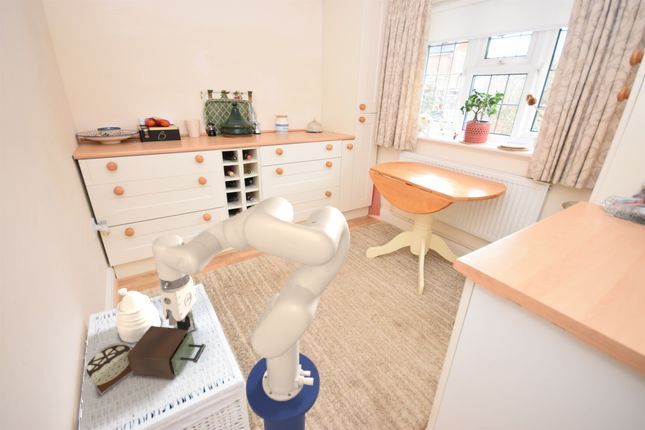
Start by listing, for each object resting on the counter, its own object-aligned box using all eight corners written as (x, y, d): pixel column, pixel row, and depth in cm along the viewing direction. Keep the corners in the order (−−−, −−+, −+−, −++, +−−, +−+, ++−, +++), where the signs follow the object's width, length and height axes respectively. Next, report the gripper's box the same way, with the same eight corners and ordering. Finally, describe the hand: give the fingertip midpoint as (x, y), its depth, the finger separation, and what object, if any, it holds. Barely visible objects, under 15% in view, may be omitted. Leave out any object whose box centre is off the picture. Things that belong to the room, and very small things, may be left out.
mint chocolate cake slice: (128, 357, 95) (120, 335, 91) (139, 366, 92) (131, 343, 88) (84, 387, 85) (74, 364, 81) (95, 399, 82) (84, 374, 78)
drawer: (210, 349, 98) (207, 334, 95) (195, 377, 88) (192, 362, 86) (162, 344, 99) (158, 329, 96) (142, 372, 90) (137, 356, 87)
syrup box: (191, 320, 111) (185, 290, 105) (196, 330, 106) (190, 298, 100) (174, 327, 107) (167, 296, 101) (179, 337, 103) (172, 305, 97)
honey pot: (118, 347, 98) (103, 306, 91) (121, 322, 109) (108, 283, 101) (161, 334, 104) (150, 294, 97) (160, 311, 114) (150, 273, 107)
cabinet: (191, 347, 99) (187, 329, 96) (172, 379, 89) (167, 359, 85) (156, 344, 100) (150, 325, 97) (133, 375, 89) (126, 355, 86)
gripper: (173, 297, 73) (183, 349, 81) (200, 264, 87) (207, 311, 94) (144, 294, 73) (157, 347, 81) (176, 262, 87) (185, 309, 95)
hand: (184, 327), depth 88 cm, fingers closed
